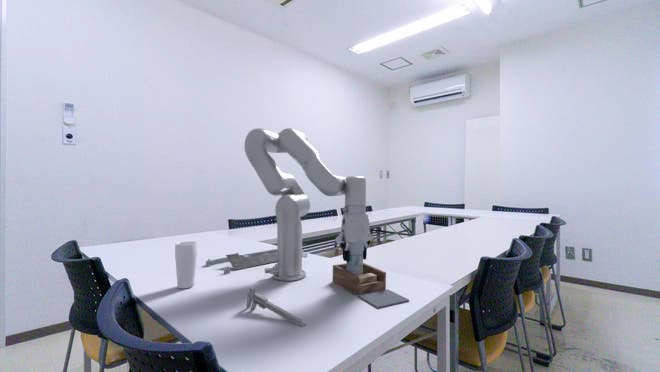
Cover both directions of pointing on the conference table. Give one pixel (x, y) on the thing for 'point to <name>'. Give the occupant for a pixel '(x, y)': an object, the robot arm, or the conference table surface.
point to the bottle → (356, 257)
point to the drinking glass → (185, 263)
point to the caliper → (270, 307)
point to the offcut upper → (367, 278)
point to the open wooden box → (352, 280)
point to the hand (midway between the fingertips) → (354, 259)
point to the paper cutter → (247, 259)
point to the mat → (383, 298)
